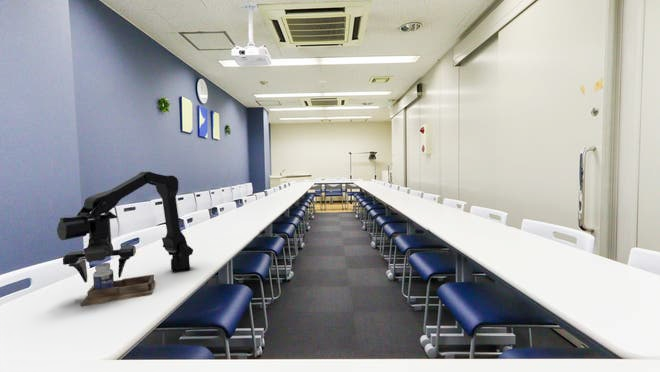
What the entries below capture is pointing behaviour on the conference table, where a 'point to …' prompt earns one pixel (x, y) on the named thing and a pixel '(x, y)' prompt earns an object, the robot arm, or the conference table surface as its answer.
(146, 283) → the keyhole track
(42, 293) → the conference table surface
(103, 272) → the pill bottle
